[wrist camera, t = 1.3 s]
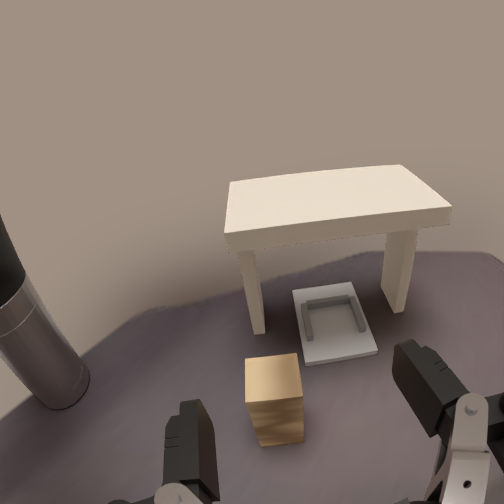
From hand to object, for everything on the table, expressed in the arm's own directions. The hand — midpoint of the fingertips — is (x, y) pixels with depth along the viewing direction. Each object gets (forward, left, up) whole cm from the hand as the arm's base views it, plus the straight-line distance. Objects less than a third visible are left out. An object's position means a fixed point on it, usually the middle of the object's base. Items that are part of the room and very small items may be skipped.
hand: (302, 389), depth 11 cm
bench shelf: (+6, +22, -21) cm, 31 cm away
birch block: (-2, +8, -21) cm, 22 cm away
